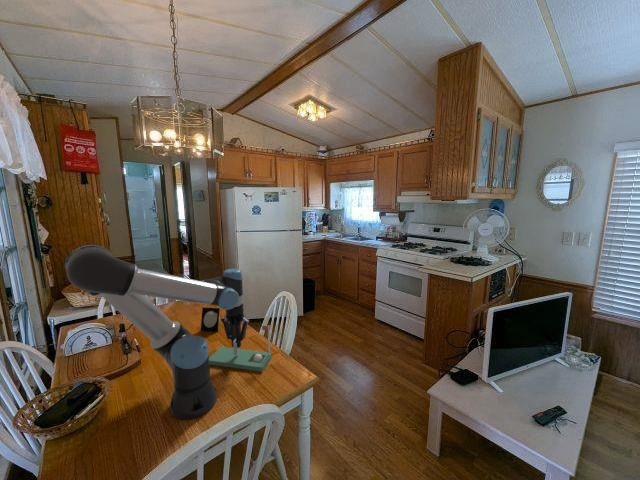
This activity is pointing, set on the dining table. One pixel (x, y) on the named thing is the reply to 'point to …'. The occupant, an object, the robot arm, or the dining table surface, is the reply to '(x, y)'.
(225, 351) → the putting board
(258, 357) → the ball
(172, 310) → the dining table surface
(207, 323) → the decorative object
